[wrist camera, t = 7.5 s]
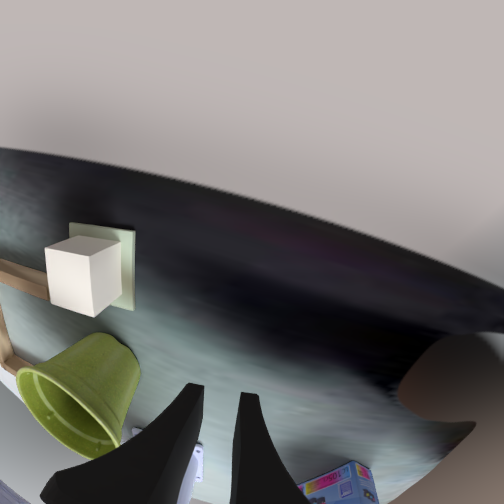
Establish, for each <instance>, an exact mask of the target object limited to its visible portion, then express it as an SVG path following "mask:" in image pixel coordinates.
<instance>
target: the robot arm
mask: <svg viewBox="0 0 504 504" xmlns="http://www.w3.org/2000/svg"><path fill="white" fill-rule="evenodd" d="M203 401H204V386H203V385H198V384H193V383H188V384H186V386H185V387H184V388H183V390H182V391H181V392H180V393H179V395H178V396H177V397H176V398H175V399H174V400H173V402H172V403H171V404H170V405H169V406H168V407H167V408H166V409H165V410H164V411H163V412H162V413H161V414H160V415H159V416H158V417H157V418H156V419H155V420H154V421H152V422H151V423H150V424H149V425H148V426H147V427H146V428H144V429H143V430H141V429H138V428H132V434H133V438H131V439H130V440H128V441H127V442H125V443H124V444H122V445H120V446H119V447H117V448H115V449H114V450H112V451H110V452H108V453H106V454H104V455H102V456H100V457H98V458H95V459H93V460H91V461H88V462H86V463H84V464H81V465H78V466H75V467H71V468H68V469H64V470H61V471H57V472H56V473H55V474H54V475H53V476H52V477H51V478H50V480H49V481H48V482H47V484H46V486H45V487H44V489H43V491H42V492H41V494H40V498H41V499H42V501H43V502H44V503H46V504H190V500H191V495H192V491H193V487H194V483H195V481H196V482H202V480H203V446H202V445H199V444H196V443H197V440H198V437H199V432H200V428H201V423H202V419H203ZM0 504H30V503H29V502H27V501H26V500H25V499H23V498H22V497H20V495H18V494H17V493H15V492H14V491H13V490H12V489H11V488H9V487H8V486H7V485H6V484H5V483H3V482H2V481H1V480H0ZM230 504H312V503H311V502H310V501H309V500H308V499H307V497H306V496H305V495H304V494H303V493H302V491H301V490H300V489H299V488H298V486H297V485H296V483H295V482H294V481H293V479H292V478H291V476H290V475H289V473H288V471H287V470H286V468H285V466H284V465H283V463H282V461H281V459H280V457H279V455H278V453H277V451H276V449H275V447H274V445H273V443H272V440H271V438H270V435H269V433H268V430H267V427H266V424H265V421H264V418H263V415H262V411H261V406H260V401H259V396H258V395H257V394H253V393H245V392H241V396H240V401H239V407H238V413H237V419H236V425H235V432H234V439H233V451H232V483H231V497H230Z"/></svg>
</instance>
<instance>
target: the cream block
mask: <svg viewBox="0 0 504 504" xmlns="http://www.w3.org/2000/svg"><path fill="white" fill-rule="evenodd" d="M45 256H46V268H47V277H48V285H49V292H50V299H51V304H54V305H57V306H60V307H63V308H66V309H69V310H72V311H75V312H78V313H81V314H84V315H88V316H91V317H96V316H97V315H98V314H99V313H100V312H101V311H103V310H104V309H105V308H106V307H107V306H108V305H110V304H111V303H112V302H113V301H114V300H116V299H117V298H118V297H119V296H120V295H122V284H121V242H119V241H113V240H106V239H100V238H93V237H87V236H80V235H78V236H75V237H72V238H70V239H67V240H64V241H61V242H58V243H56V244H53V245H50V246H48V247H45Z"/></svg>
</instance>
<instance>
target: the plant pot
mask: <svg viewBox="0 0 504 504" xmlns="http://www.w3.org/2000/svg"><path fill="white" fill-rule="evenodd" d="M140 373H141V372H140V367H139V364H138V361H137V359H136V358H135V356H134V354H133V353H132V352H131V350H130V349H129V348H128V347H126V346H124V345H122V344H120V343H119V342H118V341H117V340H116V339H115V338H114V337H113V336H111V335H109V334H106V333H100V332H97V333H92V334H90V335H88V336H87V337H85V338H83V339H82V340H80V341H79V342H77V343H75V344H74V345H72V346H71V347H69V348H67V349H66V350H64V351H63V352H61V353H59V354H58V355H56V356H54V357H53V358H51V359H49V360H48V361H46V362H44V363H38V364H36V365H35V366H33V367H32V366H25V367H22V368H21V369H19V370H18V371H17V375H16V383H17V387H18V390H19V393H20V395H21V397H22V399H23V401H24V403H25V404H26V406H27V407H28V409H29V410H30V412H31V413H32V415H33V416H34V417H35V419H36V420H37V421H38V422H39V423H40V424H41V426H43V427H44V428H45V429H46V430H47V431H48V432H49V433H50V434H51V435H52V436H53V437H54V438H56V439H57V440H58V441H59V442H60V443H62V444H63V445H64V446H66V447H67V448H69V449H70V450H72V451H74V452H76V453H77V454H79V455H81V456H83V457H85V458H87V459H90V460H93V459H95V458H98V457H100V456H102V455H104V454H106V453H108V452H110V451H112V450H114V449H115V448H117V447H119V446H120V441H121V437H122V431H121V429H122V426H123V423H124V420H125V417H126V414H127V411H128V408H129V405H130V403H131V400H132V398H133V395H134V392H135V390H136V387H137V385H138V382H139V379H140Z"/></svg>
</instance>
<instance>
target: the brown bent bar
mask: <svg viewBox="0 0 504 504" xmlns="http://www.w3.org/2000/svg"><path fill="white" fill-rule="evenodd" d="M78 235H80V236H87V237H93V238H100V239H106V240H113V241H119V242H121V284H122V295H120V296H119V297H118V298H117V299H116V300H114V301H113V302H112V303H111V304H110V305H112V306H116V307H120V308H124V309H128V310H132V311H134V310H135V231H132V230H125V229H118V228H110V227H103V226H96V225H89V224H81V223H74V222H71V223H69V239H70V238H72V237H75V236H78ZM0 282H2V283H4V284H7V285H9V286H11V287H14V288H16V289H18V290H21V291H23V292H26V293H28V294H31V295H33V296H36V297H39V298H41V299H44V300H47V301H49V300H50V292H49V285H48V277H47V273H45V272H42V271H38V270H35V269H32V268H28V267H25V266H22V265H19V264H16V263H13V262H10V261H7V260H4V259H1V258H0ZM0 364H1V367H2V368H4V369H5V370H7V371H8V372H10V373H11V374H12V375H14V376H15V377H16V375H17V371H18V370H19V369H21V368H22V367H25V366H32V367H33V365H32V364H30V363H28V362H26V361H25V360H23V359H21V358H20V357H18V356H16V355H15V354H14V352H13V349H12V346H11V343H10V339H9V336H8V333H7V329H6V325H5V322H4V318H3V314H2V310H1V305H0Z"/></svg>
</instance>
